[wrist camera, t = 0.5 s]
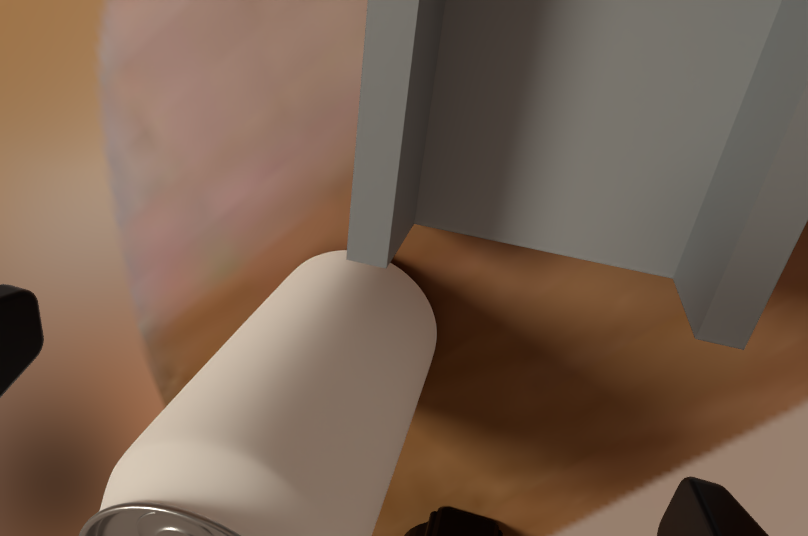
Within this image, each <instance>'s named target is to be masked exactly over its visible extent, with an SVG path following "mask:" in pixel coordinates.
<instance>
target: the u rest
mask: <svg viewBox="0 0 808 536" xmlns="http://www.w3.org/2000/svg"><path fill="white" fill-rule="evenodd" d="M807 220H808V0H368V5H367V17H366V29H365V41H364V53H363V65H362V77H361V89H360V101H359V113H358V125H357V137H356V149H355V161H354V173H353V184H352V196H351V208H350V220H349V232H348V244H347V256H346V260H350V261H354V262H359V263H363V264H368V265H372V266H376V267H381V268H385V269H386V268H387V267H388V265H389V264H390V262H391V260H392V259H393V257H394V255H395V254H396V252H397V251H398V249H399V247H400V246H401V244H402V242H403V241H404V239H405V237H406V236H407V234H408V233H409V231H410V229H411V228H412V226H413V224H418V225H423V226H428V227H432V228H437V229H442V230H446V231H451V232H456V233H461V234H465V235H470V236H475V237H479V238H484V239H489V240H494V241H498V242H503V243H508V244H512V245H517V246H522V247H526V248H531V249H536V250H541V251H545V252H550V253H555V254H559V255H564V256H569V257H574V258H578V259H583V260H588V261H592V262H597V263H602V264H607V265H611V266H616V267H621V268H625V269H630V270H635V271H640V272H644V273H649V274H654V275H658V276H663V277H668V278H673V280H674V283H675V286H676V288H677V291H678V294H679V296H680V299H681V302H682V304H683V307H684V310H685V313H686V315H687V318H688V321H689V323H690V326H691V329H692V331H693V334H694V337H695V339H698V340H703V341H707V342H712V343H716V344H720V345H725V346H729V347H734V348H738V349H742V350H744V349H745V347H746V345H747V342H748V340H749V338H750V336H751V334H752V332H753V330H754V328H755V326H756V324H757V322H758V320H759V318H760V316H761V314H762V312H763V310H764V308H765V306H766V304H767V302H768V300H769V298H770V296H771V294H772V292H773V290H774V288H775V285H776V283H777V281H778V279H779V277H780V275H781V273H782V271H783V269H784V267H785V265H786V263H787V261H788V259H789V257H790V255H791V253H792V251H793V249H794V247H795V245H796V243H797V241H798V239H799V237H800V235H801V233H802V231H803V229H804V226H805V224H806V222H807Z"/></svg>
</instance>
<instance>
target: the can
mask: <svg viewBox="0 0 808 536" xmlns="http://www.w3.org/2000/svg"><path fill="white" fill-rule="evenodd" d="M346 256H347V250H341V251H333V252H328V253H324V254H321V255H318V256H315V257H313V258H311V259H309V260H307V261H305V262H304V263H302V264H301V265H300V266H299V267H297V268H296V269H295V270H294V271H293V272H292V273H291V274H290V275H289V276H288V277H287V278H286V279H285V280H284V281H283V282H282V283H281V284H280V286H279V287H278V288H277V289H276V290H275V291H274V292H273V293H272V294H271V295H270V296H269V297H268V298H267V299H266V300H265V301H264V302H263V303H262V305H261V306H260V307H259V308H258V309H257V310H256V311H255V312H254V313H253V314H252V315H251V316H250V317H249V318H248V319H247V321H246V322H245V323H244V324H243V325H242V326H241V327H240V328H239V329H238V330H237V331H236V332H235V333H234V334H233V335H232V337H231V338H230V339H229V340H228V341H227V342H226V343H225V344H224V345H223V346H222V347H221V348H220V349H219V350H218V352H217V353H216V354H215V355H214V356H213V357H212V358H211V359H210V360H209V361H208V362H207V363H206V364H205V366H204V367H203V368H202V369H201V370H200V371H199V372H198V373H197V374H196V375H195V376H194V377H193V378H192V379H191V381H190V382H189V383H188V384H187V385H186V386H185V387H184V388H183V389H182V390H181V391H180V392H179V394H178V395H177V396H176V397H175V398H174V399H173V400H172V401H171V402H170V403H169V404H168V405H167V406H166V408H165V409H164V410H163V411H162V412H161V413H160V414H159V415H158V416H157V418H155V420H154V421H153V422H152V423H151V424H150V425H149V426H148V427H147V428H146V430H145V431H144V432H143V433H142V434H141V435H140V436H139V437H138V438H137V440H136V441H135V442H134V443H133V444H132V445H131V446H130V448H129V449H128V450H127V451H126V452H125V453H124V455H123V456H122V457H121V459H120V460H119V462H118V463H117V464H116V466H115V467H114V469H113V471H112V474H111V476H110V478H109V481H108V484H107V487H106V490H105V494H104V497H103V501H102V505H101V508H100V511H99V512H98V513H96V514H95V515H94V516H93V517H91V518H90V519H89V520H88V521H87V522H86V524H85V525H84V527H83V528H82V530H81V532H80V534H79V536H372V533H373V530H374V527H375V524H376V521H377V518H378V516H379V513H380V510H381V507H382V504H383V501H384V498H385V496H386V493H387V490H388V487H389V484H390V481H391V478H392V475H393V473H394V470H395V467H396V464H397V461H398V458H399V455H400V452H401V449H402V447H403V444H404V441H405V438H406V435H407V432H408V429H409V426H410V423H411V420H412V418H413V415H414V412H415V409H416V406H417V403H418V400H419V397H420V394H421V391H422V388H423V385H424V382H425V379H426V376H427V373H428V370H429V367H430V364H431V361H432V358H433V355H434V351H435V347H436V340H437V328H436V321H435V317H434V313H433V311H432V308H431V306H430V303H429V301H428V300H427V298H426V296H425V295H424V293H423V292H422V290H421V289H420V288H419V286H418V285H417V284H416V283H415V282H414V281H413V280H412V279H411V278H410V277H409V276H408V275H407V274H406V273H405V272H403V271H402V270H401V269H399V268H398V267H396V266H395V265H393V264H392V263H390V264H389V265H388V267H387V268H386V269H385V268H381V267H376V266H372V265H368V264H363V263H359V262H354V261H350V260H346Z"/></svg>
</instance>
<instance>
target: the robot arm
mask: <svg viewBox="0 0 808 536" xmlns="http://www.w3.org/2000/svg"><path fill="white" fill-rule="evenodd" d="M43 337H44V336H43V330H42V324H41V318H40V312H39V305H38V300H37V298H36V296H35V295H34V293H32V292H31V291H29V290H26V289H22V288H19V287H15V286H12V285H4V284H2V285H0V397H1V396H2V395H3V394H4V393H5V392H6V391H7V390H8V388H9V387H10V386H11V385H12V384H13V383H14V382H15V381H16V380H17V378H18V377H19V376H20V375H21V374H22V373H23V372H24V370H25V369H26V368H27V367H28V366H29V365H30V364H31V363H32V362H33V361H34V359H35V358H36V357H37V356H38V355H39V353H40V351H41V349H42V346H43V341H44V338H43ZM404 536H503V533H502V532H501V531H500V530H499V527H498V524H497V523H496V522H494V521H491V520H488V519H485V518H481V517H478V516H474V515H471V514H467V513H464V512H460V511H457V510H454V509H450V508H447V507H440V508H439V509H438V511H434V512H431V514H430V517H429V521H428V522H426V523H423V524H420V525H417V526H415V527H414V528H412V529H410V530H409V531H408V532H407V533H406V534H405V535H404ZM657 536H768V534H766V532H765V531H764V530H763V529H762V528H761V527H760V526H759V525H758V523H757V522H756V521H755V520H754V519H753V518H752V517H751V516H750V515H749V514H748V512H747V511H746V510H745V509H744V508H743V507H742V506H741V505H740V504H739V503H738V501H737V500H736V499H735V498H734V497H733V496H732V495H731V494H730V493H729V492H728V491H727V490H726V489H725V488H724V487H723V486H721V485H719V484H716V483H712V482H708V481H705V480H701V479H698V478H695V477H687V478H684V479H683V480H682V481H681V482H680V484H679V486H678V488H677V490H676V492H675V494H674V496H673V498H672V500H671V502H670V504H669V506H668V508H667V510H666V512H665V513H664V515H663V518H662V520H661V522H660V525H659V528H658V533H657Z"/></svg>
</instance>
